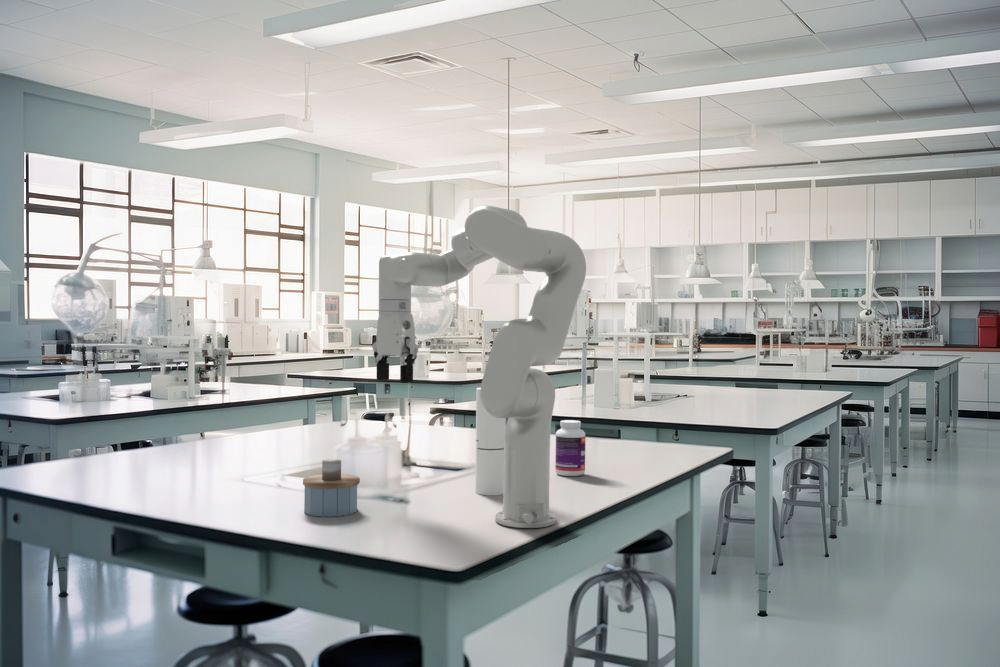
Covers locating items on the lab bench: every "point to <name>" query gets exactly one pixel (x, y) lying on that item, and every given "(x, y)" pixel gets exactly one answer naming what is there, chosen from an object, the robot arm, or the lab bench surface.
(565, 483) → the lab bench surface
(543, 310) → the robot arm
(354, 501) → the bowl
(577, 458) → the pill bottle
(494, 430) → the cylindrical container
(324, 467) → the lid
